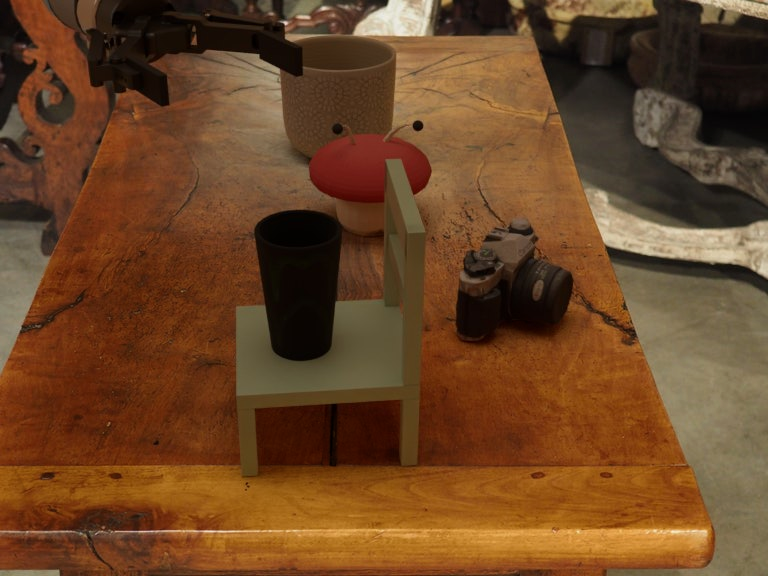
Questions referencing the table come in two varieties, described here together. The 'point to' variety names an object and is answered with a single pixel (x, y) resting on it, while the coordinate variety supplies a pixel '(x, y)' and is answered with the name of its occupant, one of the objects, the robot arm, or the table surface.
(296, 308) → the cup
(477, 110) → the table surface
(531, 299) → the camera
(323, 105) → the planter
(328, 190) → the mushroom
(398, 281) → the chair
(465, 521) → the table surface
